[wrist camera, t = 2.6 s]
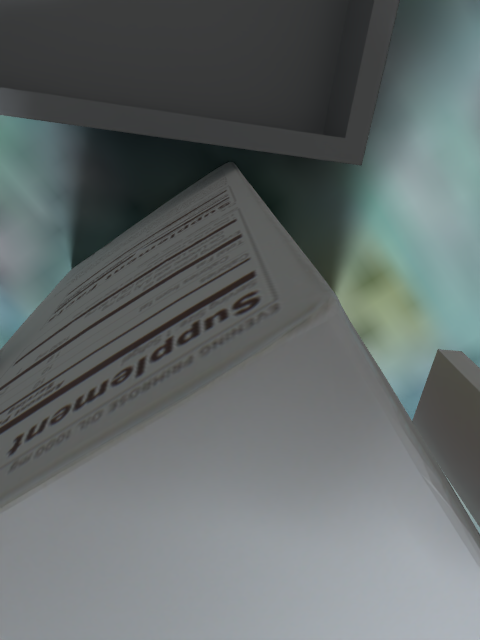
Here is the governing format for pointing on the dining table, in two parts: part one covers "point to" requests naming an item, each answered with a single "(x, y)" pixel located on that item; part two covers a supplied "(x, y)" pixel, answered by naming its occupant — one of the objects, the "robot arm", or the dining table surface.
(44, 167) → the dining table surface
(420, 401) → the robot arm
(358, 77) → the grey shallow rectangular tray
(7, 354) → the supplement box
